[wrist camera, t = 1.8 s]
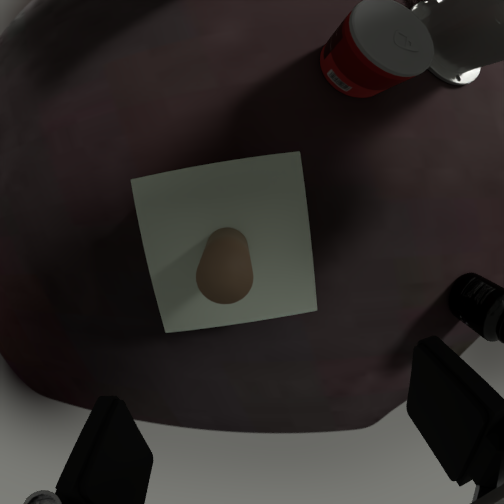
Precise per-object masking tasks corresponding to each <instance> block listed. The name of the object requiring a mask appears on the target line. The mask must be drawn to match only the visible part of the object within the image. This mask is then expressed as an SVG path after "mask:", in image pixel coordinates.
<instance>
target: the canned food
mask: <svg viewBox="0 0 504 504" xmlns="http://www.w3.org/2000/svg"><path fill="white" fill-rule="evenodd" d="M433 57H434V46H433V41H432V38H431V36H430V33H429V32H428V30H427V28H426V26H425V25H424V24H423V22H422V21H421V20H420V19H419V18H418V17H417V16H416V15H415V14H414V13H413V12H412V11H411V10H409V9H408V8H406V7H405V6H403V5H402V4H400V3H397V2H395V1H393V0H363V1H362V2H360V3H359V4H358V5H356V6H355V7H354V9H353V10H352V11H351V12H350V13H349V14H348V16H347V17H346V18H345V19H344V21H343V22H342V23H341V25H340V26H339V27H338V28H337V30H336V31H335V32H334V34H333V35H332V36H331V38H330V39H329V40H328V42H327V43H326V44H325V46H324V47H323V49H322V51H321V55H320V65H321V70H322V73H323V75H324V77H325V78H326V80H327V81H328V82H329V84H331V85H332V86H333V87H334V88H335V89H336V90H338V91H339V92H341V93H343V94H345V95H348V96H351V97H358V98H367V97H371V96H374V95H376V94H378V93H380V92H382V91H384V90H386V89H389V88H391V87H393V86H395V85H397V84H400V83H402V82H404V81H406V80H409V79H411V78H413V77H415V76H417V75H419V74H421V73H423V72H424V71H425V70H426V69H428V68H429V66H430V65H431V63H432V61H433Z"/></svg>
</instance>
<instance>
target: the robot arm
mask: <svg viewBox="0 0 504 504" xmlns="http://www.w3.org/2000/svg"><path fill="white" fill-rule="evenodd" d="M410 10H411V11H412V12H413V13H414V14H415V15H416V16H417V17H418V18H419V19H420V20H421V21H422V22H423V24H424V25H425V26H426V28H427V30H428V32H429V33H430V36H431V38H432V41H433V46H434V57H433V61H432V63H431V65H430V66H429V68H428V70H429V71H430V72H432V73H433V74H434V75H435V76H436V77H438V78H440V79H441V80H443V81H445V82H447V83H449V84H453V85H465V84H469V83H471V82H473V81H474V80H475V79H476V78H477V77H478V75H479V73H480V69H481V67H483V66H486V65H490V64H493V63H496V62H500V61H503V60H504V0H429V1H422V2H419V3H417V4H415V5H414V6H413V7H411V9H410ZM407 412H408V415H409V416H410V418H411V419H412V421H413V422H414V424H415V425H416V427H417V428H418V430H419V431H420V433H421V435H422V436H423V438H424V439H425V440H426V442H427V444H428V445H429V447H430V448H431V450H432V451H433V453H434V455H435V456H436V458H437V459H438V461H439V462H440V464H441V466H442V467H443V468H444V470H445V472H446V473H447V475H448V477H449V478H450V479H451V480H452V481H457V483H458V485H459V486H462V485H464V484H465V483H467V482H469V481H471V480H472V479H473V481H474V482H475V484H476V488H475V493H474V497H473V501H472V503H471V504H504V399H503V398H502V397H501V396H500V395H499V394H498V393H497V392H496V391H495V390H494V389H493V388H492V387H491V386H490V385H489V384H488V383H487V382H486V381H485V380H484V379H483V378H482V377H481V376H480V375H478V374H477V373H476V372H475V371H474V370H473V369H472V368H471V367H470V366H469V365H468V364H467V363H466V362H465V361H464V360H462V359H461V358H460V357H459V356H458V355H457V354H456V353H455V352H454V351H453V350H452V349H450V348H449V347H448V346H447V345H446V344H445V343H444V342H443V341H442V340H440V339H439V338H438V337H437V336H431V337H428V338H425V339H423V340H420V341H419V342H418V345H417V346H416V347H415V348H414V352H413V362H412V371H411V379H410V386H409V393H408V400H407ZM152 465H153V454H152V452H151V450H150V448H149V447H148V445H147V443H146V442H145V440H144V438H143V436H142V434H141V433H140V431H139V429H138V427H137V425H136V424H135V422H134V420H133V418H132V416H131V414H130V412H129V410H128V408H127V406H126V404H125V402H124V401H123V400H120V399H119V398H118V397H117V396H100V397H99V398H98V400H97V402H96V404H95V405H94V407H93V409H92V411H91V414H90V416H89V417H88V419H87V421H86V423H85V425H84V427H83V429H82V431H81V433H80V436H79V438H78V440H77V442H76V444H75V446H74V448H73V450H72V452H71V454H70V456H69V459H68V461H67V463H66V465H65V467H64V470H63V472H62V474H61V476H60V478H59V481H58V483H57V485H56V489H57V490H56V493H55V494H54V493H53V492H50V491H45V490H41V491H37V492H35V493H33V494H31V495H30V496H29V497H28V498H27V499H26V500H25V502H24V504H144V503H145V498H146V493H147V488H148V483H149V479H150V474H151V469H152Z"/></svg>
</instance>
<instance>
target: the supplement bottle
mask: <svg viewBox="0 0 504 504" xmlns="http://www.w3.org/2000/svg"><path fill="white" fill-rule="evenodd" d="M449 308H450V311H451V312H452V314H453V315H454V316H455V317H457V318H458V319H459V320H461V321H462V322H463V323H465V324H466V325H467V326H469V327H470V328H471V329H472V330H474V331H475V332H476V333H478V334H479V335H480V336H482V337H483V338H485V339H486V340H487V341H497V340H499V341H501V342H502V343H504V288H503V287H501V286H499V285H497V284H495V283H493V282H491V281H490V280H488V279H486V278H484V277H482V276H480V275H478V274H476V273H467V274H464V275H463V276H461V277H460V278H459V279H458V280H457V281H456V283H455V284H454V286H453V288H452V290H451V293H450V296H449Z"/></svg>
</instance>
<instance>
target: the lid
mask: <svg viewBox="0 0 504 504" xmlns="http://www.w3.org/2000/svg"><path fill="white" fill-rule="evenodd" d="M131 185H132V191H133V196H134V202H135V207H136V212H137V217H138V222H139V227H140V232H141V237H142V242H143V246H144V251H145V255H146V259H147V264H148V268H149V272H150V276H151V280H152V284H153V288H154V292H155V296H156V300H157V304H158V307H159V311H160V315H161V318H162V322H163V325H164V329H165V332H166V333H170V332H179V331H188V330H196V329H204V328H211V327H219V326H226V325H233V324H240V323H246V322H253V321H259V320H265V319H272V318H278V317H283V316H289V315H295V314H301V313H306V312H311V311H317V301H316V288H315V277H314V266H313V255H312V245H311V236H310V227H309V218H308V209H307V201H306V193H305V185H304V177H303V170H302V163H301V156H300V151H298V152H289V153H280V154H272V155H265V156H257V157H250V158H243V159H237V160H230V161H224V162H218V163H212V164H206V165H200V166H195V167H190V168H184V169H179V170H174V171H169V172H164V173H159V174H154V175H150V176H145V177H141V178H136V179H132V180H131Z"/></svg>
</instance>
